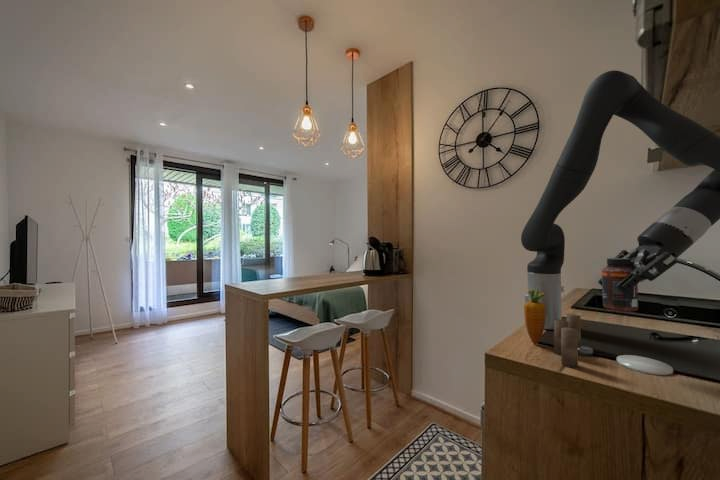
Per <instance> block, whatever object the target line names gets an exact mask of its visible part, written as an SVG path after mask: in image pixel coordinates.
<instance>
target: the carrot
mask: <svg viewBox="0 0 720 480" xmlns="http://www.w3.org/2000/svg"><path fill="white" fill-rule="evenodd" d="M529 294H530V297H531V301H530V302H526V303H525V302H524V304H523V313H524V315H523V316H524V322H525V323H524V324H525V328H526V332H527V334H528V336H529V338H530V340H531V342H532V344H534V345H537V344H538V343H539V342H540V340H541V338H542V335H543V333H544V330H545V329H544V325H545V306H544V305H543V304H542V303H540V302H538V300H539V299H540V298H541V297H542V296H544V295H545V294H544V293H542V294H540V295H539V296H538V294H539V290H537V291H536V294H535V297H534V289H531V290H530V291H529Z"/></svg>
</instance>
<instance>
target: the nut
mask: <svg viewBox="0 0 720 480" xmlns="http://www.w3.org/2000/svg"><path fill="white" fill-rule="evenodd" d="M578 356H594V349H593V348H592V347H589V346H582V345H581V346H578Z"/></svg>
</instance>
